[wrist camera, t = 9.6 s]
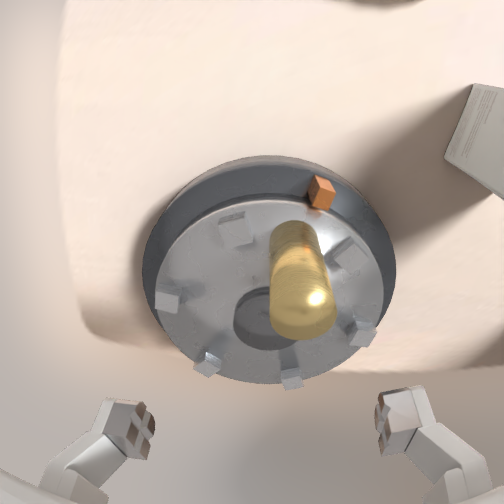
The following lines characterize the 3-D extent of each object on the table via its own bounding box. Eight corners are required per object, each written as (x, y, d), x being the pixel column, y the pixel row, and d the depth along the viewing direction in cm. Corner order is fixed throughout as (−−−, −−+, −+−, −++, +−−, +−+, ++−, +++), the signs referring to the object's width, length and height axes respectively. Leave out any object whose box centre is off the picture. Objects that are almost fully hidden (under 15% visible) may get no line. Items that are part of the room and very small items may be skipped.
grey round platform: (424, 209, 24) (455, 241, 19) (324, 369, 34) (329, 410, 29) (181, 121, 21) (157, 134, 17) (141, 322, 31) (124, 362, 26)
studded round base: (173, 169, 20) (118, 231, 12) (410, 226, 21) (468, 304, 14) (158, 346, 28) (132, 426, 21) (330, 376, 29) (341, 455, 22)
